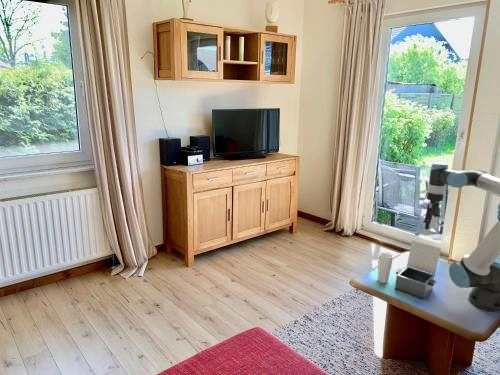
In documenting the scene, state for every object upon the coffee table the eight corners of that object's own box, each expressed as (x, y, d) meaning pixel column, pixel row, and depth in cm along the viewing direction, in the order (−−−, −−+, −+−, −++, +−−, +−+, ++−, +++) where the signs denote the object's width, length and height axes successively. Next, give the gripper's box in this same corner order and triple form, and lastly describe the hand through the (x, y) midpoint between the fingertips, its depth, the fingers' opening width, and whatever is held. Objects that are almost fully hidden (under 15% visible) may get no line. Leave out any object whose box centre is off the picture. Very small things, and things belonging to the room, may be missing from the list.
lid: (434, 274, 186) (436, 273, 188) (440, 248, 184) (442, 247, 186) (406, 265, 195) (408, 265, 197) (412, 240, 193) (413, 240, 195)
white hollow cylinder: (390, 285, 191) (394, 258, 187) (376, 283, 192) (380, 257, 188) (388, 278, 197) (391, 253, 194) (375, 277, 199) (378, 251, 195)
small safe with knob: (436, 290, 186) (439, 276, 184) (427, 301, 176) (430, 286, 174) (401, 278, 198) (403, 265, 196) (390, 287, 188) (392, 273, 186)
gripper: (434, 187, 201) (428, 224, 206) (420, 195, 183) (415, 235, 188) (449, 189, 197) (443, 227, 202) (437, 198, 178) (431, 239, 183)
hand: (429, 231), depth 195 cm, fingers open, 13 cm apart
